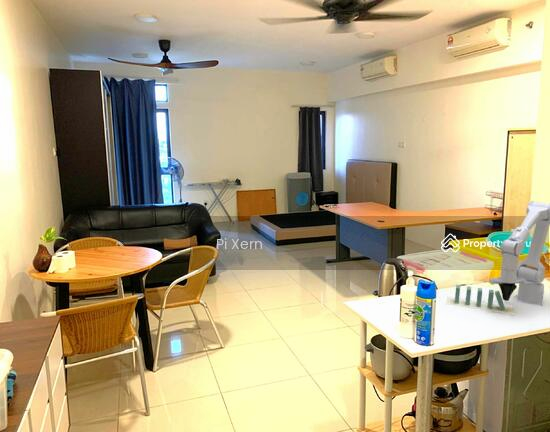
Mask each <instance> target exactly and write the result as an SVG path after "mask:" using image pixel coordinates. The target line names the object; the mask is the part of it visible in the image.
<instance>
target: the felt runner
mask: <svg viewBox="0 0 550 432" xmlns="http://www.w3.org/2000/svg"><path fill="white" fill-rule="evenodd" d="M465 304H466V298H460V297H459V304H458V303H455V297H453V296H447V297H446V303H445V305H451V306H458V307H462V308H469V309H470V308H471V309H475V310H476V309H477V310H482V311H488V312H495V313H501V314H505V315H506V314H507V315H513V316H515V315H516V314H515V310H514V306H511V305H505V304H504V306H505V310H501V309H500V306H499V304H497V303H493V305H492V309H489V308H488V302H485V301H481V307H477V300H471V299H470V305H465Z"/></svg>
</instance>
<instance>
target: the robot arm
mask: <svg viewBox="0 0 550 432" xmlns="http://www.w3.org/2000/svg"><path fill="white" fill-rule="evenodd" d="M533 227H534V230H533V234H532V238H531V242H530V245H529V248H528V253H527V256H526V258H524V259H523V260H520V259H519V258H520V255H521V254H522V253H523V249H524V247H525V243H526V242H527V239H529V237H530V235H531V232H530V230H531V229H532V228H533ZM549 228H550V203H547V202H541V201H539V202H538V201H534V200H531V201H529V202H528V204H527V205H526V215H525V217H524V219H523V221H522V223H521V225H520V226H516V227H515V229H514V230H513V231H512V233H511V234H510V235H509V237H508V238H507V239H504V240H503V241H502V243H501V244H500V251H501V254H500V256H501V257H502V260H501V268H500V269H501V270H500V276H499V277H491V278H489V284H491V285H498V286H499V289H500V293H501V295H502V296H501V298H502V300H503V301H505V302H509V301H510V298H511V296H512V294H513V293H514V291H515V290H516V289H517V284H518V289H517V291H518V292H517V295H515V298H516V301H517V302H518V303H522V304H523V303H524V304H531V305H536V306H537V305H538V306H542V307H543V299H544V295H545V294H544V293H545V285H544V283H543V282H544V280H545V276H546V267H545V266H544V264H543V263H542V262H541V261H540V260H541V258H542V254H543V250H544V247H545V244H546V240H547V236H548V232H549ZM519 260H520V261H519Z"/></svg>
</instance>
